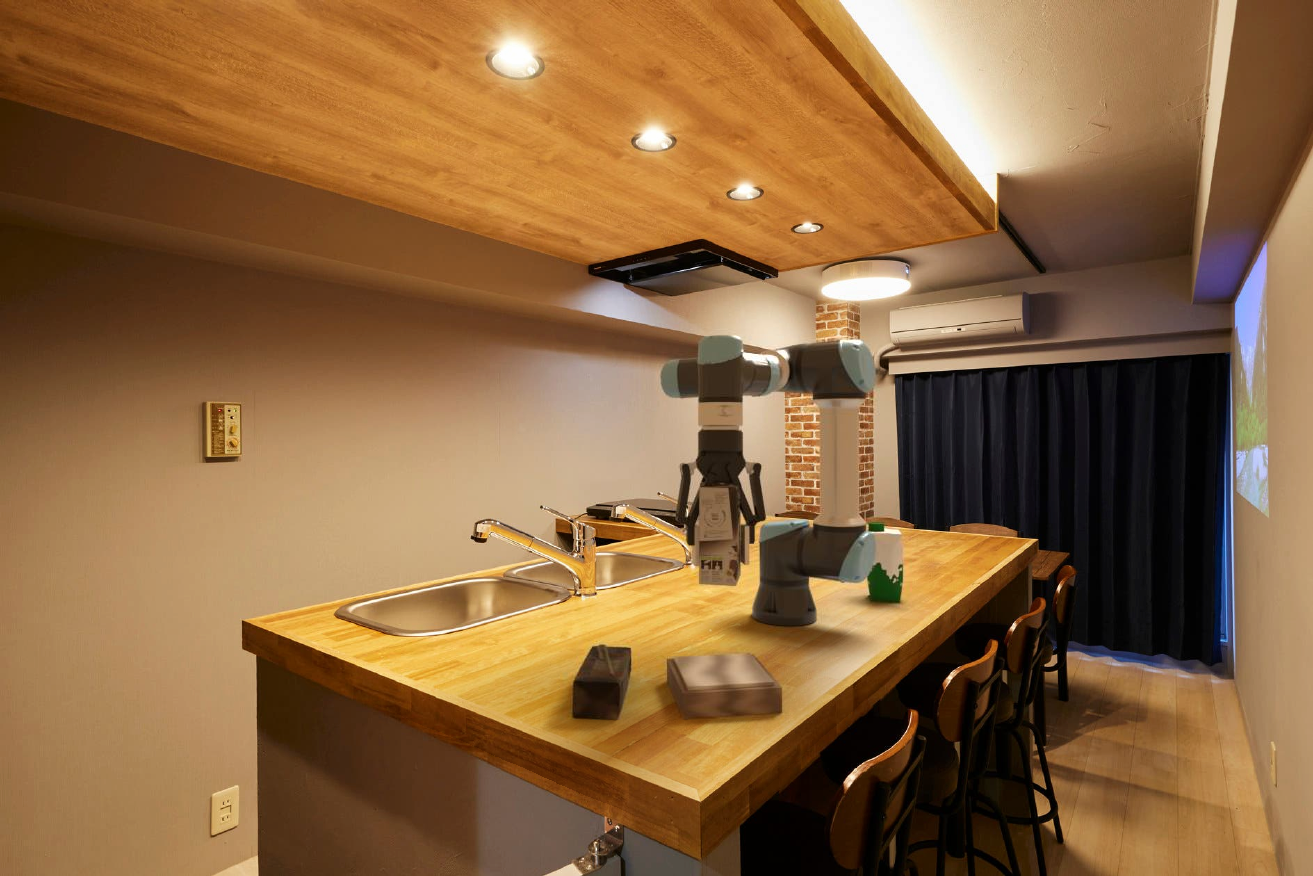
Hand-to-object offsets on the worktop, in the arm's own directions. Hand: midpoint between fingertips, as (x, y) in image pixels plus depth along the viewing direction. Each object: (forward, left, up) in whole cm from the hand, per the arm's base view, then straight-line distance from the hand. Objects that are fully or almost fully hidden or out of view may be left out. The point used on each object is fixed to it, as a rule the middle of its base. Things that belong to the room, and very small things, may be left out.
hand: (720, 563), depth 114 cm
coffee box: (0, 0, -3) cm, 3 cm away
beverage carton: (+19, -3, -23) cm, 30 cm away
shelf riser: (0, 0, -22) cm, 22 cm away
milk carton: (-58, -57, -23) cm, 85 cm away
